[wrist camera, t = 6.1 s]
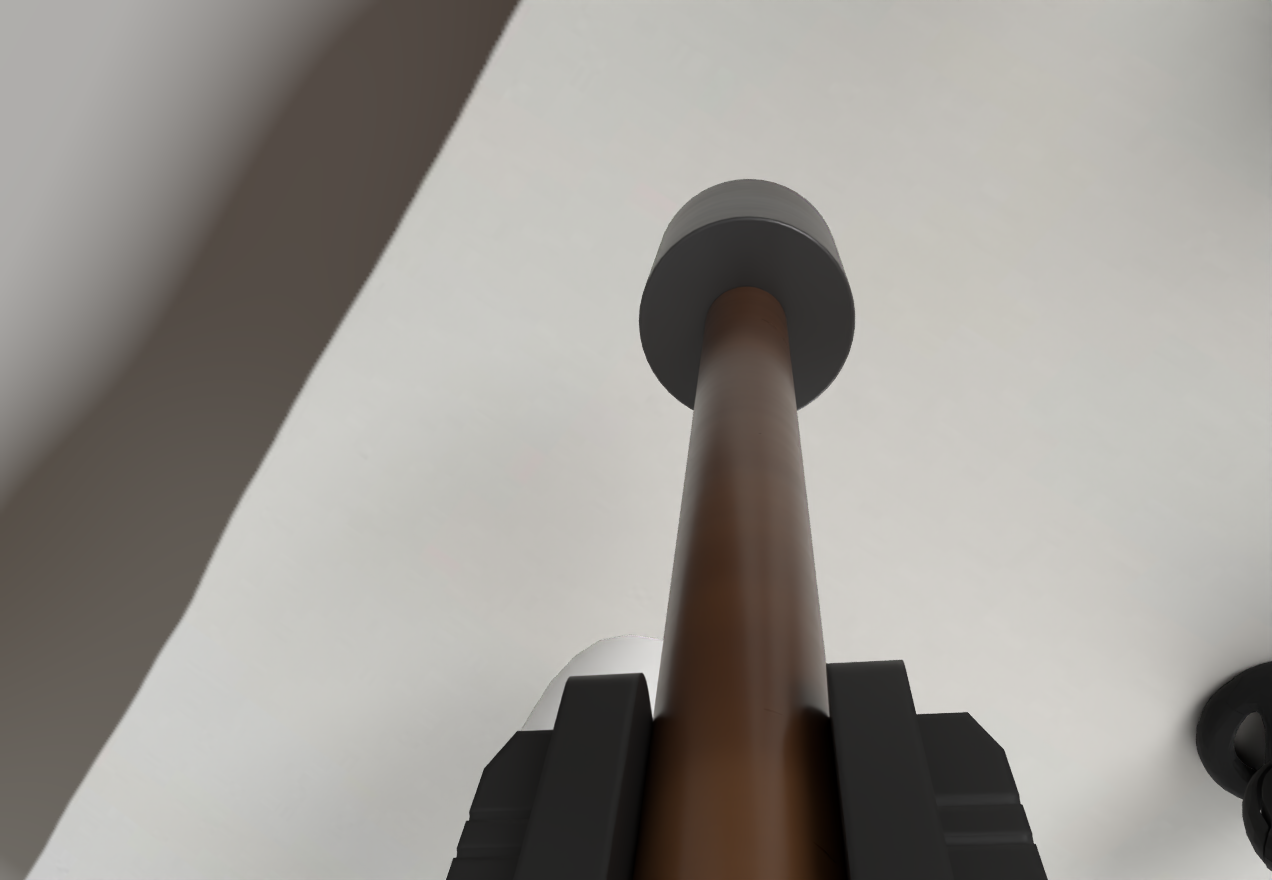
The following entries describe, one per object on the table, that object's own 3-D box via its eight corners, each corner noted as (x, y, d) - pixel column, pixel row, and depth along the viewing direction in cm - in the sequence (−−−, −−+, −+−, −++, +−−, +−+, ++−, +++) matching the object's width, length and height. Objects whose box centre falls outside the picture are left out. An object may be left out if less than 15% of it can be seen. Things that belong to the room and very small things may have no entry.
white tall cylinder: (549, 509, 44) (398, 890, 25) (699, 444, 42) (659, 803, 23) (626, 639, 47) (541, 1079, 28) (773, 583, 45) (790, 1014, 26)
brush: (646, 189, 27) (191, 1054, 5) (831, 168, 26) (1257, 1057, 4) (668, 363, 29) (408, 1549, 7) (842, 346, 28) (1178, 1608, 6)
